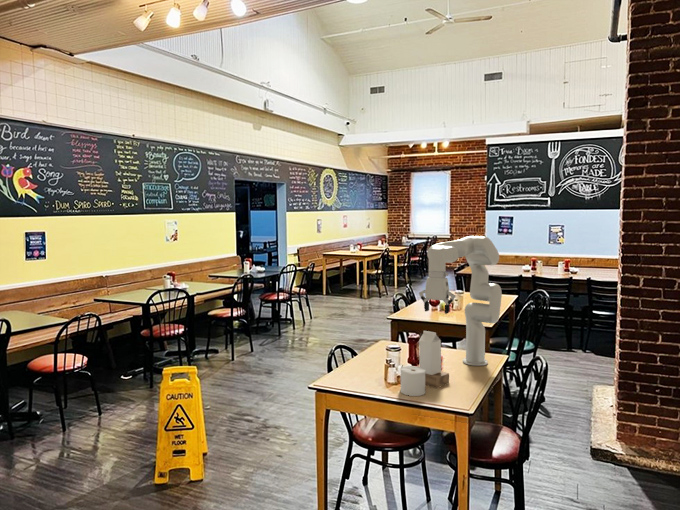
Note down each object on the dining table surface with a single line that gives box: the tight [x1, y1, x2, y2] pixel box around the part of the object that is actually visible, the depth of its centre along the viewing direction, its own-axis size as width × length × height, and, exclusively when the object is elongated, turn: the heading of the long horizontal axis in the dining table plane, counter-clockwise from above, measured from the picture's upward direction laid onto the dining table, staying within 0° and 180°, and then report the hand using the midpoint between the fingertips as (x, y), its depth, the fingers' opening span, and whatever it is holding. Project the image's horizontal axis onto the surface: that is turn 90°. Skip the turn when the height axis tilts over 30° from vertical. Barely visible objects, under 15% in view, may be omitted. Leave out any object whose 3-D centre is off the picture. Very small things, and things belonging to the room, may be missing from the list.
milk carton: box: [418, 330, 442, 375], centre depth 228 cm, size 7×7×19 cm
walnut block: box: [425, 370, 450, 389], centre depth 228 cm, size 10×10×5 cm
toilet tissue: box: [400, 364, 426, 397], centre depth 216 cm, size 11×12×10 cm
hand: (436, 312), depth 226 cm, fingers open, 9 cm apart
